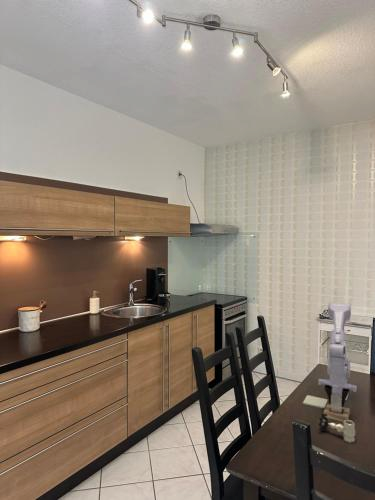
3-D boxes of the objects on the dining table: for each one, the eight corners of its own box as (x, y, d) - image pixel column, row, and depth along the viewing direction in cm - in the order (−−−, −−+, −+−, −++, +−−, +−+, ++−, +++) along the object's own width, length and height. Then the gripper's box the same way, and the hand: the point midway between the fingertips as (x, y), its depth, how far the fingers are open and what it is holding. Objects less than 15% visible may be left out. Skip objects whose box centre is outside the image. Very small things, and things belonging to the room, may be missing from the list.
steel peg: (332, 408, 148) (332, 391, 148) (342, 410, 146) (342, 393, 146) (330, 411, 145) (331, 395, 145) (341, 414, 143) (341, 397, 143)
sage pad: (307, 396, 164) (307, 395, 164) (327, 400, 159) (327, 399, 159) (302, 403, 156) (302, 402, 156) (324, 408, 151) (324, 407, 151)
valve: (357, 438, 128) (325, 426, 136) (358, 420, 128) (325, 410, 136) (351, 446, 123) (318, 433, 131) (352, 427, 123) (318, 416, 131)
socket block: (327, 408, 152) (327, 403, 152) (349, 413, 147) (349, 408, 147) (323, 416, 144) (323, 412, 144) (347, 422, 139) (347, 417, 139)
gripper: (317, 372, 146) (316, 404, 146) (355, 379, 138) (355, 413, 138) (320, 367, 152) (319, 398, 152) (357, 373, 144) (356, 406, 145)
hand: (336, 404), depth 146 cm, fingers closed on steel peg, 4 cm apart
